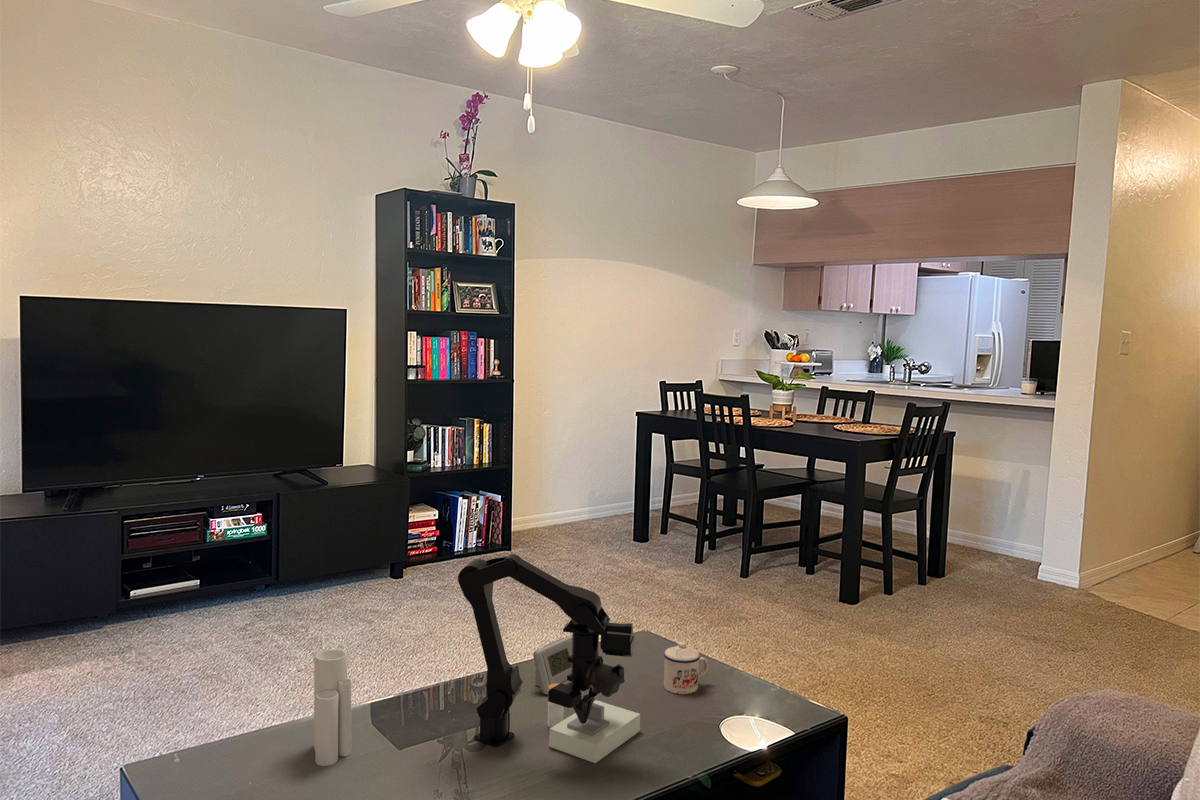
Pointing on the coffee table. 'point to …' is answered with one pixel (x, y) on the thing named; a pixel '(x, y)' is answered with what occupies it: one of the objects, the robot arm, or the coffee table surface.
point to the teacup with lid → (682, 669)
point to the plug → (554, 711)
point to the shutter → (591, 721)
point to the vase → (331, 707)
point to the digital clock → (553, 663)
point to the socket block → (601, 743)
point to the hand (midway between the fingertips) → (583, 722)
